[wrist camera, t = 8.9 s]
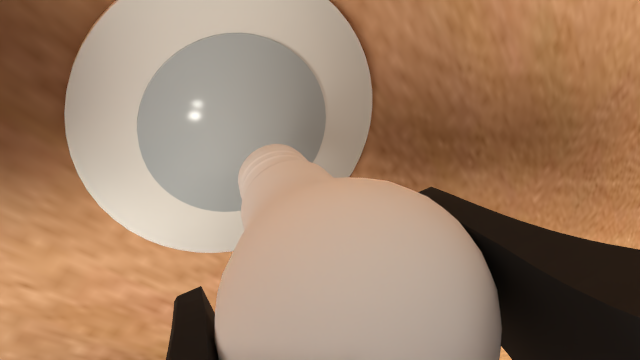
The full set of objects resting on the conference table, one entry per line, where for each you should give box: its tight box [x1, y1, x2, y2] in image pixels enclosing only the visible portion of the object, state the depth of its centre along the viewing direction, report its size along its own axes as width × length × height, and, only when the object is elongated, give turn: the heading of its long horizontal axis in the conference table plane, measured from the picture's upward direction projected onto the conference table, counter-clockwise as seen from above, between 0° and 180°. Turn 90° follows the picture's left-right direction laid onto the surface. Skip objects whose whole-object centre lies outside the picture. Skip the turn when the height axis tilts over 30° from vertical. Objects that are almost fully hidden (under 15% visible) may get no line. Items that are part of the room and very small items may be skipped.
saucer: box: [64, 0, 372, 253], centre depth 20 cm, size 13×13×1 cm
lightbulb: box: [215, 144, 502, 360], centre depth 12 cm, size 6×6×11 cm
